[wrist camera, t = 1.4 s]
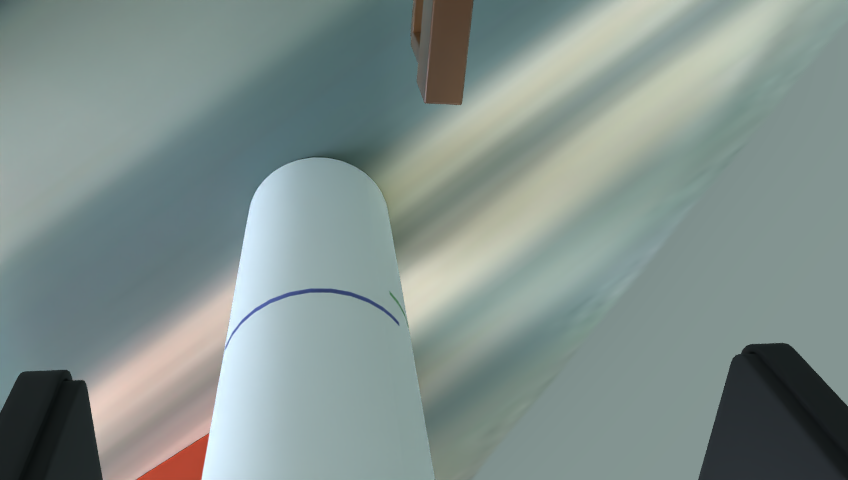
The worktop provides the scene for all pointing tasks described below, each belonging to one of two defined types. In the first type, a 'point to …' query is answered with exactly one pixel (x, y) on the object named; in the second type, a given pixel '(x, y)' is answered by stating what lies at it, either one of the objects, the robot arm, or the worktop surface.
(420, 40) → the brown clothes hanger
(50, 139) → the worktop surface
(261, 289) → the cylindrical container
